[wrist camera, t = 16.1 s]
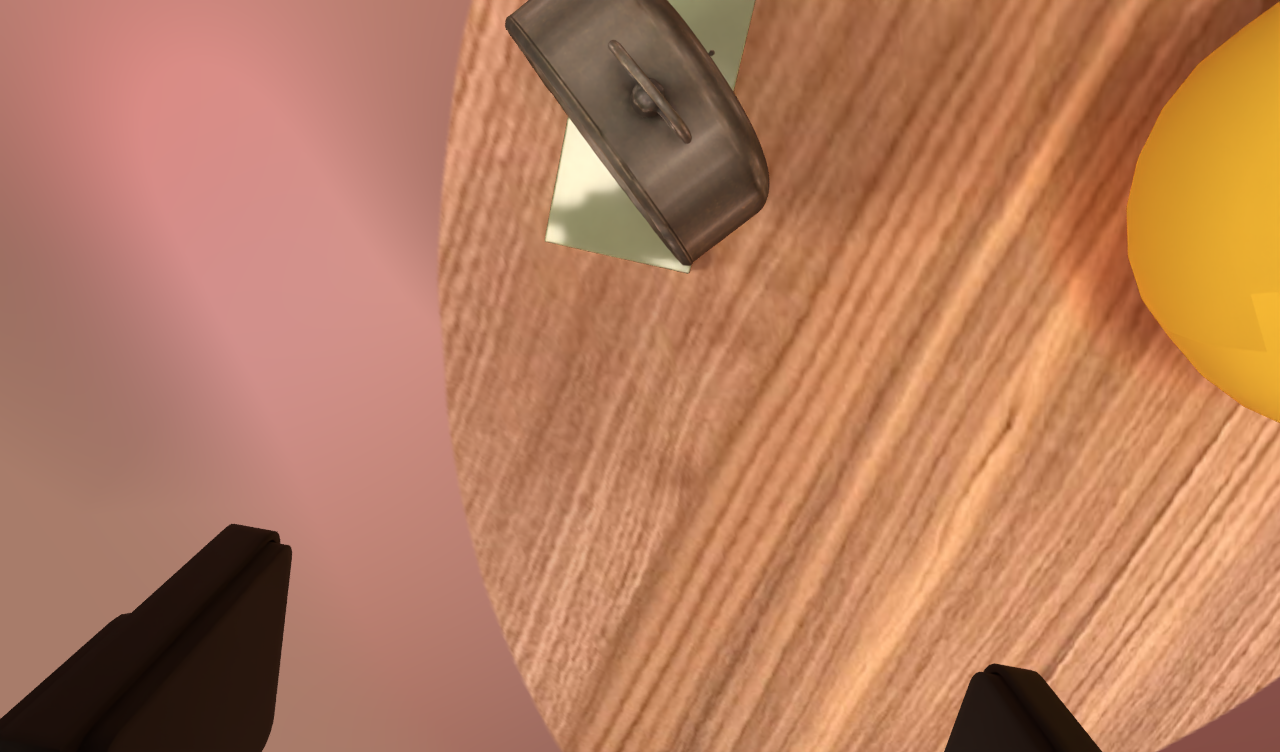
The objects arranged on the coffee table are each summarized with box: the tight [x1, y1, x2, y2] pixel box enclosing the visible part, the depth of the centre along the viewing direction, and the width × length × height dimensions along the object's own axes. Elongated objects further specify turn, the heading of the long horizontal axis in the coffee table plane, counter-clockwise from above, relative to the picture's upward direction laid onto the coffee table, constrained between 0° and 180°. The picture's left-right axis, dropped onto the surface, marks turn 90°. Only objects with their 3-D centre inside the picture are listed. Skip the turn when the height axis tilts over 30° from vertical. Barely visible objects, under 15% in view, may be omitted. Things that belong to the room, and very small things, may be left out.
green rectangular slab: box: [545, 0, 756, 274], centre depth 36 cm, size 13×7×1 cm, turn 167°
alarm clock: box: [505, 0, 769, 266], centre depth 28 cm, size 11×5×16 cm, turn 37°
